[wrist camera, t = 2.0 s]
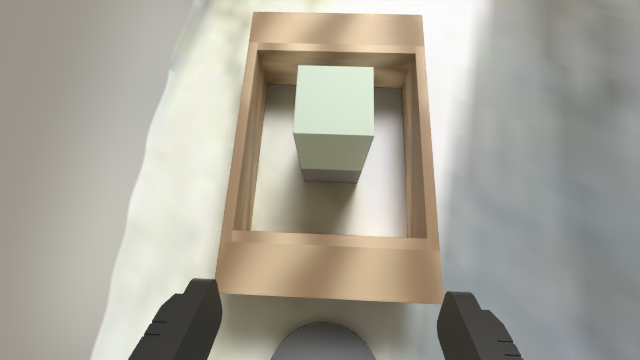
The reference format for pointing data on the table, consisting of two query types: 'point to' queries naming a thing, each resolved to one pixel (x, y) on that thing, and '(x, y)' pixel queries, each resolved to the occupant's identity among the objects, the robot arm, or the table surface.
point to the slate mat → (323, 344)
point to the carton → (324, 249)
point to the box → (333, 121)
